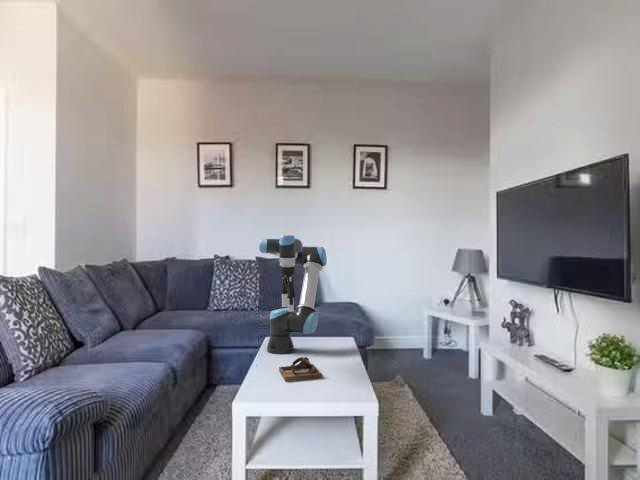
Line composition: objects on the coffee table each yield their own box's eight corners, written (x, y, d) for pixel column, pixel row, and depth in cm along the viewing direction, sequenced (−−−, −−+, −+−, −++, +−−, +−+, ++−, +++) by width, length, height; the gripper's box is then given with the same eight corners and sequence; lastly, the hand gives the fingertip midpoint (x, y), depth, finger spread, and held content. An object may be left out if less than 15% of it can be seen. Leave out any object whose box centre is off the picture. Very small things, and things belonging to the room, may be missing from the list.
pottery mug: (313, 378, 186) (303, 363, 185) (295, 385, 189) (286, 370, 188) (317, 363, 198) (309, 349, 197) (301, 370, 200) (292, 356, 199)
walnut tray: (279, 371, 197) (279, 366, 197) (313, 368, 201) (313, 364, 201) (285, 381, 182) (285, 377, 182) (321, 378, 186) (321, 373, 186)
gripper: (275, 264, 217) (275, 305, 217) (285, 268, 193) (285, 314, 193) (289, 264, 219) (289, 304, 219) (300, 268, 195) (301, 313, 195)
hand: (287, 309), depth 206 cm, fingers open, 13 cm apart
